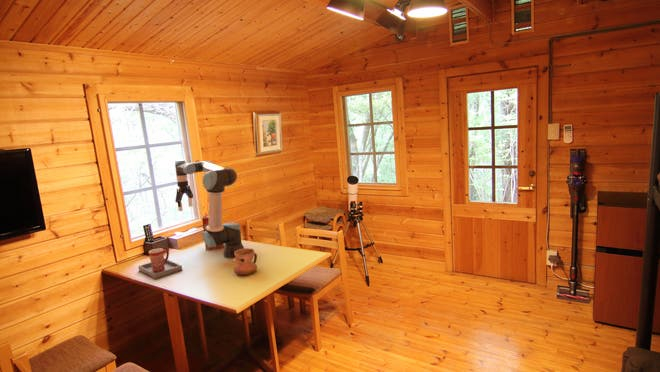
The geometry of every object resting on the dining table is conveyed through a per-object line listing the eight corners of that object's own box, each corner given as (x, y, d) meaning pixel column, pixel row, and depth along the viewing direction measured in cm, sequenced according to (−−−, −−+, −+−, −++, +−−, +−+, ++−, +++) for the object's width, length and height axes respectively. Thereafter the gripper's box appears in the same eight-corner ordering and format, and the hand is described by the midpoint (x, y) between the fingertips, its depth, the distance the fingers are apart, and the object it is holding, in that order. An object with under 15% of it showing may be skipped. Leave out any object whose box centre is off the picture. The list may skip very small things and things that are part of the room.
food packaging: (205, 250, 300) (201, 218, 295) (206, 246, 309) (203, 215, 304) (223, 248, 302) (220, 216, 298) (224, 244, 311) (221, 213, 307)
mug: (155, 273, 256) (152, 253, 253) (148, 271, 261) (145, 251, 259) (173, 267, 265) (171, 248, 263) (166, 264, 271) (164, 245, 268)
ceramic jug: (241, 279, 241) (239, 257, 239) (227, 274, 251) (226, 252, 249) (264, 270, 254) (263, 249, 252) (251, 265, 264) (249, 245, 262)
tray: (182, 270, 262) (181, 265, 261) (155, 279, 249) (154, 274, 248) (165, 262, 278) (164, 257, 277) (139, 271, 265) (138, 266, 264)
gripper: (177, 183, 283) (180, 212, 286) (195, 177, 306) (199, 204, 310) (167, 183, 284) (171, 212, 288) (187, 178, 308) (190, 204, 312)
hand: (185, 208), depth 299 cm, fingers open, 13 cm apart
